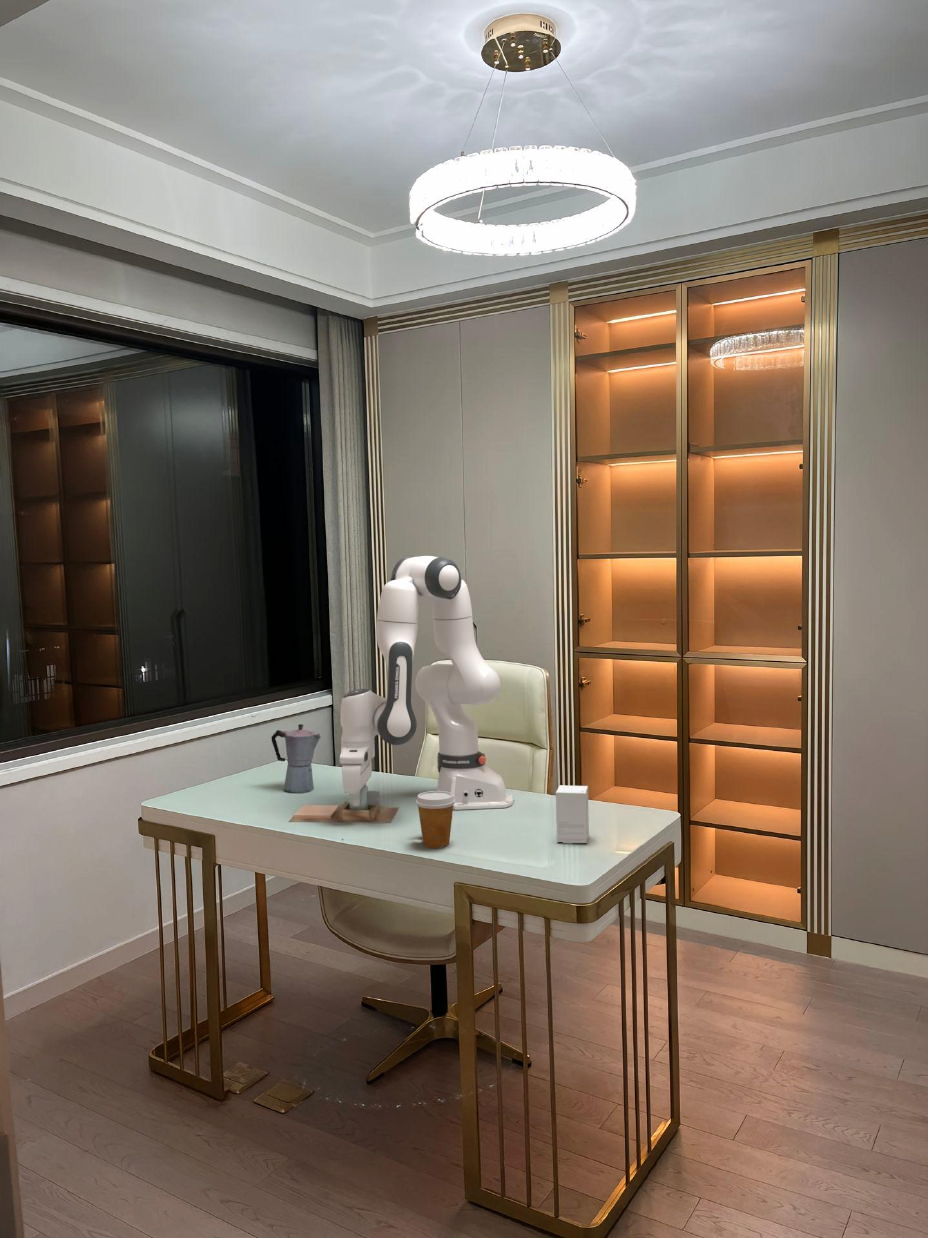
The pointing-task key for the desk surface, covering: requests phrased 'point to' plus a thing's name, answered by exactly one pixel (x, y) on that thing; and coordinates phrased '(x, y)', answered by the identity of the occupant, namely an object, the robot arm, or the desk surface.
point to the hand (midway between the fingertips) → (359, 802)
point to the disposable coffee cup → (435, 817)
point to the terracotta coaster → (316, 811)
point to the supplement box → (572, 814)
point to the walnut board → (356, 815)
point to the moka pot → (298, 758)
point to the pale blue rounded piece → (366, 799)
